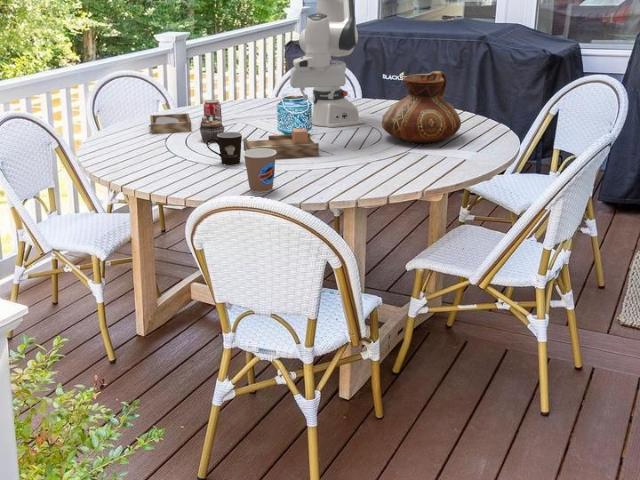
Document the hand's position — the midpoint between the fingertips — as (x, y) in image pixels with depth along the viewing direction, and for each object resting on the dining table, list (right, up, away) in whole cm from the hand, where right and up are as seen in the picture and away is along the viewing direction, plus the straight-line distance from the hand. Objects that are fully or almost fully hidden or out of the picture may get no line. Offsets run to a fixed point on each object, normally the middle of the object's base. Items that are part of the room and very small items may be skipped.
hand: (318, 99), depth 291 cm
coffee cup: (-18, -36, -42) cm, 58 cm away
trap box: (-14, -19, 0) cm, 24 cm away
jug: (+39, -13, +16) cm, 44 cm away
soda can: (-43, -6, +36) cm, 56 cm away
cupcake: (-41, -13, +19) cm, 47 cm away
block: (-7, -15, +4) cm, 17 cm away
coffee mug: (-32, -24, -12) cm, 42 cm away
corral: (-61, -5, +40) cm, 73 cm away
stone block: (-63, -6, +40) cm, 74 cm away
